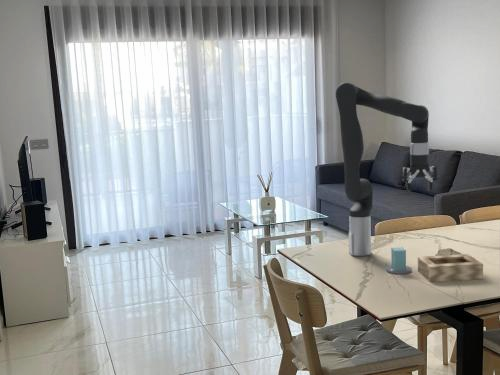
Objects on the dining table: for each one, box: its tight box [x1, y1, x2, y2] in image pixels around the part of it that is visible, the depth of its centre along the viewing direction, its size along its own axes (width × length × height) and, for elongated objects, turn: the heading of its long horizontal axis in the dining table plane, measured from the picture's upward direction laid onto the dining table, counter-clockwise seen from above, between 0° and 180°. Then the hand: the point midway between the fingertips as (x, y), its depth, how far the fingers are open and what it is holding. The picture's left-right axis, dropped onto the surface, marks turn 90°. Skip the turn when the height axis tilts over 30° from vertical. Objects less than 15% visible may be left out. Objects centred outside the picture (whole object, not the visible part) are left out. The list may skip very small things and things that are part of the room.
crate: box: [417, 253, 484, 283], centre depth 225 cm, size 20×14×6 cm
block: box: [390, 247, 407, 271], centre depth 233 cm, size 4×4×8 cm
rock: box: [434, 247, 462, 256], centre depth 245 cm, size 11×11×4 cm
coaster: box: [385, 265, 413, 275], centre depth 233 cm, size 10×10×1 cm
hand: (419, 191), depth 250 cm, fingers open, 8 cm apart
